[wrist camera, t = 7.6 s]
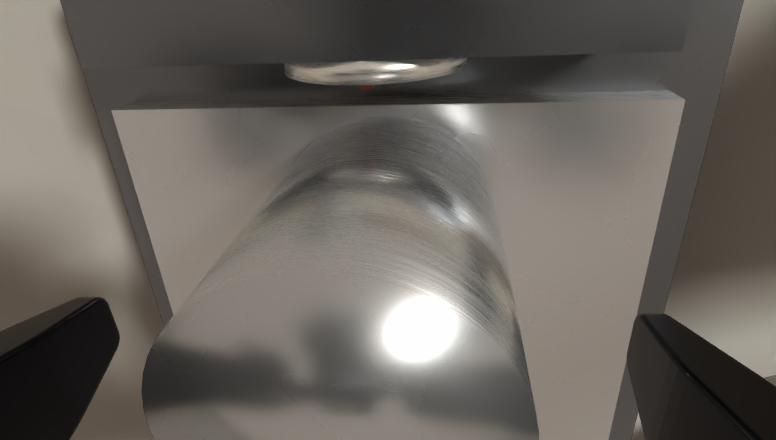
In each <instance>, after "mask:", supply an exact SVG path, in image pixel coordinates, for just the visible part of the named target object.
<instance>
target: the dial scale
mask: <svg viewBox="0 0 776 440" xmlns="http://www.w3.org/2000/svg"><path fill="white" fill-rule="evenodd" d="M743 1H744V0H60V2H61V5H62V8H63V11H64V15H65V18H66V21H67V24H68V27H69V30H70V33H71V37H72V40H73V43H74V46H75V49H76V52H77V55H78V58H79V62H80V65H81V68H82V70H83V73H84V76H85V80H86V83H87V86H88V89H89V92H90V95H91V98H92V101H93V105H94V108H95V111H96V114H97V117H98V120H99V123H100V127H101V130H102V133H103V136H104V139H105V142H106V145H107V149H108V152H109V155H110V158H111V161H112V164H113V167H114V171H115V174H116V177H117V180H118V183H119V186H120V189H121V192H122V196H123V199H124V202H125V205H126V208H127V211H128V214H129V218H130V221H131V224H132V227H133V230H134V233H135V236H136V240H137V243H138V246H139V249H140V252H141V255H142V258H143V261H144V265H145V268H146V271H147V274H148V277H149V280H150V283H151V287H152V290H153V293H154V296H155V299H156V302H157V305H158V309H159V312H160V315H161V318H162V321H163V324H164V327H165V326H166V325H167V324H168V322H169V321H170V320H171V318H172V317H173V316H174V315H175V313H176V312H177V311H178V310H179V308H180V307H181V306H182V305H183V303H184V302H185V301H186V299H187V298H188V297H189V296H190V294H191V293H192V292H193V291H194V289H195V288H196V287H197V286H198V284H199V283H200V282H201V280H202V279H203V278H204V277H205V275H206V274H207V273H208V272H209V270H210V269H211V268H212V266H213V265H214V264H215V263H216V261H217V260H218V259H219V258H220V256H221V255H222V254H223V253H224V251H225V250H226V249H227V247H228V246H229V245H230V244H231V242H232V241H233V240H234V239H235V237H236V236H237V235H238V234H239V232H240V231H241V230H242V228H243V227H244V226H245V225H246V223H247V222H248V221H249V220H250V218H251V217H252V216H253V214H254V213H255V212H256V211H257V209H258V208H259V207H260V206H261V204H262V203H263V202H264V201H265V199H266V198H267V197H268V195H269V194H270V193H271V192H272V190H273V189H274V188H275V187H276V185H277V184H278V183H279V182H280V180H281V179H282V178H283V176H284V175H285V174H286V173H287V171H288V170H289V169H290V168H291V166H292V165H293V164H294V162H295V161H296V160H297V159H298V157H299V156H300V155H301V154H302V152H303V151H304V150H305V149H306V148H307V147H308V146H309V145H310V144H311V143H312V142H313V141H314V140H315V139H317V138H318V137H319V136H321V135H322V134H324V133H325V132H327V131H328V130H330V129H332V128H334V127H336V126H338V125H340V124H343V123H346V122H349V121H352V120H356V119H360V118H365V117H374V116H396V117H403V118H408V119H414V120H417V121H420V122H423V123H426V124H429V125H431V126H433V127H435V128H437V129H440V130H442V131H443V132H445V133H447V134H448V135H450V136H451V137H453V138H454V139H456V140H457V141H458V142H459V143H461V144H462V145H463V146H464V147H465V148H466V149H467V150H468V151H469V152H470V153H471V154H472V155H473V156H474V157H475V158H476V160H477V161H478V162H479V164H480V165H481V167H482V168H483V170H484V171H485V173H486V175H487V177H488V179H489V181H490V183H491V186H492V189H493V193H494V196H495V200H496V205H497V211H498V216H499V221H500V226H501V232H502V237H503V242H504V247H505V253H506V258H507V263H508V268H509V274H510V279H511V284H512V289H513V294H514V300H515V305H516V310H517V315H518V321H519V326H520V331H521V336H522V342H523V347H524V352H525V357H526V363H527V368H528V373H529V378H530V384H531V389H532V394H533V399H534V405H535V410H536V415H537V422H538V428H539V440H631V438H632V434H633V430H634V426H635V422H636V419H637V415H638V408H637V404H636V400H635V396H634V392H633V388H632V384H631V380H630V377H629V373H628V368H627V359H626V358H627V350H628V346H629V341H630V337H631V332H632V328H633V323H634V320H635V318H636V316H637V315H639V314H640V313H654V314H663V313H664V309H665V305H666V302H667V298H668V294H669V290H670V286H671V282H672V278H673V274H674V270H675V266H676V263H677V259H678V255H679V251H680V247H681V243H682V239H683V235H684V231H685V227H686V224H687V220H688V216H689V212H690V208H691V204H692V200H693V196H694V192H695V189H696V185H697V181H698V177H699V173H700V169H701V165H702V161H703V157H704V153H705V150H706V146H707V142H708V138H709V134H710V130H711V126H712V122H713V118H714V114H715V111H716V107H717V103H718V99H719V95H720V91H721V87H722V83H723V79H724V75H725V72H726V68H727V64H728V60H729V56H730V52H731V48H732V44H733V40H734V36H735V33H736V29H737V25H738V21H739V17H740V13H741V9H742V5H743Z"/></svg>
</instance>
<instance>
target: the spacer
mask: <svg viewBox="0 0 776 440" xmlns="http://www.w3.org/2000/svg"><path fill="white" fill-rule="evenodd" d="M142 399H143V408H144V412H145V416H146V419H147V423H148V426H149V429H150V431H151V433H152V435H153V438H154V440H539V428H538V422H537V415H536V410H535V405H534V399H533V394H532V389H531V384H530V378H529V373H528V368H527V363H526V357H525V352H524V347H523V342H522V336H521V331H520V326H519V321H518V315H517V310H516V305H515V300H514V294H513V289H512V284H511V279H510V274H509V268H508V263H507V258H506V253H505V247H504V242H503V237H502V232H501V226H500V221H499V216H498V211H497V205H496V200H495V196H494V193H493V189H492V186H491V183H490V181H489V179H488V177H487V175H486V173H485V171H484V170H483V168H482V167H481V165H480V164H479V162H478V161H477V160H476V158H475V157H474V156H473V155H472V154H471V153H470V152H469V151H468V150H467V149H466V148H465V147H464V146H463V145H462V144H461V143H459V142H458V141H457V140H456V139H454V138H453V137H451V136H450V135H448V134H447V133H445V132H443V131H442V130H440V129H437V128H435V127H433V126H431V125H429V124H426V123H423V122H420V121H417V120H414V119H408V118H403V117H396V116H374V117H365V118H360V119H356V120H352V121H349V122H346V123H343V124H340V125H338V126H336V127H334V128H332V129H330V130H328V131H327V132H325V133H324V134H322V135H321V136H319V137H318V138H317V139H315V140H314V141H313V142H312V143H311V144H310V145H309V146H308V147H307V148H306V149H305V150H304V151H303V152H302V154H301V155H300V156H299V157H298V159H297V160H296V161H295V162H294V164H293V165H292V166H291V168H290V169H289V170H288V171H287V173H286V174H285V175H284V176H283V178H282V179H281V180H280V182H279V183H278V184H277V185H276V187H275V188H274V189H273V190H272V192H271V193H270V194H269V195H268V197H267V198H266V199H265V201H264V202H263V203H262V204H261V206H260V207H259V208H258V209H257V211H256V212H255V213H254V214H253V216H252V217H251V218H250V220H249V221H248V222H247V223H246V225H245V226H244V227H243V228H242V230H241V231H240V232H239V234H238V235H237V236H236V237H235V239H234V240H233V241H232V242H231V244H230V245H229V246H228V247H227V249H226V250H225V251H224V253H223V254H222V255H221V256H220V258H219V259H218V260H217V261H216V263H215V264H214V265H213V266H212V268H211V269H210V270H209V272H208V273H207V274H206V275H205V277H204V278H203V279H202V280H201V282H200V283H199V284H198V286H197V287H196V288H195V289H194V291H193V292H192V293H191V294H190V296H189V297H188V298H187V299H186V301H185V302H184V303H183V305H182V306H181V307H180V308H179V310H178V311H177V312H176V313H175V315H174V316H173V317H172V318H171V320H170V321H169V322H168V324H167V325H166V326H165V328H164V329H163V330H162V332H161V333H160V334H159V335H158V337H157V338H156V340H155V342H154V344H153V346H152V348H151V350H150V352H149V354H148V356H147V360H146V364H145V368H144V371H143V379H142Z"/></svg>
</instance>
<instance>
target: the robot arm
mask: <svg viewBox="0 0 776 440" xmlns="http://www.w3.org/2000/svg"><path fill="white" fill-rule="evenodd" d="M119 339H120V336H119V331H118V328H117V326H116V323H115V320H114V318H113V315H112V312H111V310H110V307H109V305H108V303H107V301H106V300H105V299H103V298H100V297H78V298H76V299H73V300H71V301H69V302H66V303H64V304H62V305H60V306H57V307H55V308H53V309H50V310H48V311H46V312H44V313H41V314H39V315H37V316H34V317H32V318H30V319H28V320H25V321H23V322H21V323H18V324H16V325H14V326H12V327H9V328H7V329H5V330H2V331H0V440H70V438H71V437H72V435H73V433H74V432H75V430H76V428H77V427H78V425H79V423H80V421H81V419H82V417H83V415H84V414H85V412H86V410H87V408H88V406H89V404H90V402H91V400H92V398H93V396H94V394H95V392H96V390H97V388H98V386H99V384H100V382H101V380H102V378H103V376H104V374H105V372H106V370H107V368H108V366H109V364H110V362H111V360H112V358H113V356H114V354H115V352H116V350H117V348H118V345H119ZM626 359H627V368H628V373H629V377H630V380H631V384H632V388H633V392H634V396H635V400H636V404H637V408H638V412H639V416H640V420H641V424H642V428H643V431H644V435H645V439H646V440H776V386H775V385H773V384H772V383H770V382H769V381H767V380H766V379H764V378H763V377H761V376H760V375H758V374H757V373H755V372H753V371H752V370H750V369H749V368H747V367H746V366H744V365H743V364H741V363H740V362H738V361H737V360H735V359H734V358H732V357H731V356H729V355H728V354H726V353H725V352H723V351H722V350H720V349H719V348H717V347H716V346H714V345H713V344H711V343H709V342H708V341H706V340H705V339H703V338H702V337H700V336H699V335H697V334H696V333H694V332H693V331H691V330H690V329H688V328H687V327H685V326H684V325H682V324H681V323H679V322H678V321H676V320H675V319H673V318H672V317H670V316H668V315H666V314H654V313H640V314H639V315H637V316H636V318H635V320H634V323H633V328H632V332H631V337H630V341H629V346H628V350H627V358H626Z"/></svg>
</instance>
